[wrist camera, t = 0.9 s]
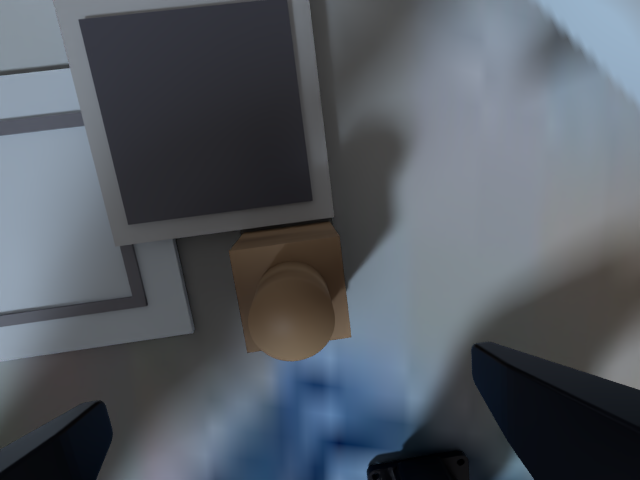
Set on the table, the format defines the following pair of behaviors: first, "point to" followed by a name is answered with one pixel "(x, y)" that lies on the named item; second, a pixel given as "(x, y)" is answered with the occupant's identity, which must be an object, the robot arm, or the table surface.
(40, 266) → the board
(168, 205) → the ink pad
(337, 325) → the stamp
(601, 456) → the robot arm
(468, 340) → the table surface
